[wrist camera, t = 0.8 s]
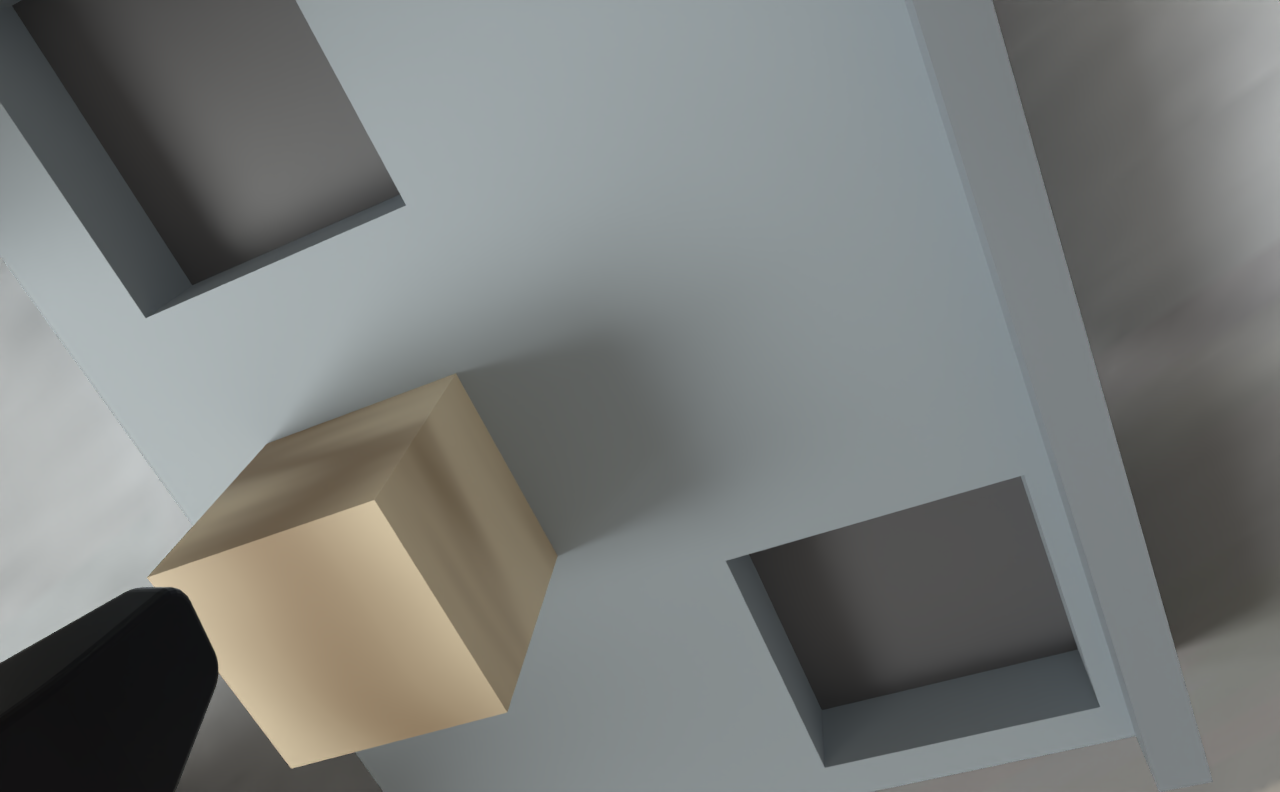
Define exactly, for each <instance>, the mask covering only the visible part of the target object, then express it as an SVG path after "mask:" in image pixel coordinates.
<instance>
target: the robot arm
mask: <svg viewBox="0 0 1280 792" xmlns="http://www.w3.org/2000/svg"><path fill="white" fill-rule="evenodd" d="M217 679H218V660H217V656H216V653H215V651H214V649H213V647H212V644H211V642H210V640H209V638H208V636H207V634H206V632H205V630H204V628H203V626H202V623H201V621H200V619H199V617H198V615H197V613H196V611H195V609H194V607H193V605H192V603H191V601H190V599H189V597H188V596H187V595H186V594H185V593H184V592H182V591H181V590H180V589H177V588H174V587H142V588H135V589H132V590H129V591H127V592H125V593H123V594H121V595H119V596H118V597H116V598H114V599H112V600H111V601H109V602H107V603H105V604H104V605H102V606H100V607H98V608H97V609H95V610H93V611H91V612H89V613H88V614H86V615H84V616H82V617H81V618H79V619H77V620H75V621H74V622H72V623H70V624H68V625H67V626H65V627H63V628H61V629H59V630H58V631H56V632H54V633H52V634H51V635H49V636H47V637H45V638H44V639H42V640H40V641H38V642H37V643H35V644H33V645H31V646H29V647H28V648H26V649H24V650H22V651H21V652H19V653H17V654H15V655H14V656H12V657H10V658H8V659H7V660H5V661H3V662H1V663H0V792H175V791H176V788H177V785H178V783H179V780H180V778H181V775H182V773H183V770H184V767H185V765H186V762H187V760H188V757H189V754H190V752H191V749H192V747H193V744H194V742H195V739H196V736H197V734H198V731H199V729H200V726H201V723H202V721H203V718H204V716H205V713H206V711H207V708H208V705H209V703H210V700H211V698H212V695H213V692H214V690H215V687H216V684H217Z"/></svg>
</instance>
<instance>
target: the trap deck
mask: <svg viewBox="0 0 1280 792" xmlns="http://www.w3.org/2000/svg"><path fill="white" fill-rule="evenodd" d="M0 257H1V258H2V260H3V261H4V263H5V264H6V265H7V267H8V268H9V270H10V271H11V272H12V274H13V275H14V277H15V278H16V279H17V281H18V282H19V284H20V285H21V286H22V288H23V289H24V291H25V292H26V293H27V295H28V296H29V298H30V299H31V300H32V302H33V303H34V305H35V306H36V307H37V309H38V310H39V312H40V313H41V314H42V316H43V317H44V319H45V320H46V321H47V323H48V324H49V326H50V327H51V328H52V330H53V331H54V333H55V334H56V335H57V337H58V338H59V340H60V341H61V342H62V344H63V345H64V347H65V348H66V349H67V351H68V352H69V353H70V355H71V356H72V358H73V359H74V360H75V362H76V363H77V365H78V366H79V367H80V369H81V370H82V372H83V373H84V374H85V376H86V377H87V379H88V380H89V381H90V383H91V384H92V386H93V387H94V388H95V390H96V391H97V393H98V394H99V395H100V397H101V398H102V400H103V401H104V402H105V404H106V405H107V407H108V408H109V409H110V411H111V412H112V414H113V415H114V416H115V418H116V419H117V421H118V422H119V423H120V425H121V426H122V428H123V429H124V430H125V432H126V433H127V435H128V436H129V437H130V439H131V440H132V442H133V443H134V444H135V446H136V447H137V449H138V450H139V451H140V453H141V454H142V456H143V457H144V458H145V460H146V461H147V462H148V464H149V465H150V467H151V468H152V469H153V471H154V472H155V474H156V475H157V476H158V478H159V479H160V481H161V482H162V483H163V485H164V486H165V488H166V489H167V490H168V492H169V493H170V495H171V496H172V497H173V499H174V500H175V502H176V503H177V504H178V506H179V507H180V509H181V510H182V511H183V513H184V514H185V516H186V517H187V518H188V520H189V521H190V523H191V524H192V525H193V526H194V524H195V523H196V522H197V521H198V520H199V519H200V518H201V517H202V516H203V514H204V513H205V512H206V511H207V510H208V509H209V508H210V507H211V505H212V504H213V503H214V502H215V501H216V500H217V499H218V498H219V497H220V495H221V494H222V493H223V492H224V491H225V490H226V489H227V488H228V486H229V485H230V484H231V483H232V482H233V481H234V480H235V479H236V478H237V476H238V475H239V474H240V473H241V472H242V471H243V470H244V469H245V467H246V466H247V465H248V464H249V463H250V462H251V461H252V460H253V459H254V457H255V456H256V455H257V454H258V453H259V452H260V451H261V450H262V448H263V447H264V446H265V445H266V444H267V443H270V442H273V441H275V440H278V439H281V438H283V437H286V436H289V435H291V434H294V433H297V432H300V431H302V430H305V429H308V428H310V427H313V426H316V425H318V424H321V423H324V422H326V421H329V420H332V419H334V418H337V417H340V416H343V415H345V414H348V413H351V412H353V411H356V410H359V409H361V408H364V407H367V406H369V405H372V404H375V403H377V402H380V401H383V400H385V399H388V398H391V397H394V396H396V395H399V394H402V393H404V392H407V391H410V390H412V389H415V388H418V387H420V386H423V385H426V384H428V383H431V382H434V381H436V380H439V379H442V378H445V377H447V376H450V375H453V374H455V373H456V374H457V376H458V378H459V380H460V381H461V383H462V385H463V387H464V389H465V390H466V392H467V394H468V396H469V398H470V399H471V401H472V403H473V405H474V407H475V408H476V410H477V412H478V414H479V416H480V417H481V419H482V421H483V423H484V425H485V426H486V428H487V430H488V432H489V434H490V435H491V437H492V439H493V441H494V443H495V444H496V446H497V448H498V450H499V452H500V453H501V455H502V457H503V459H504V461H505V462H506V464H507V466H508V468H509V469H510V471H511V473H512V475H513V477H514V478H515V480H516V482H517V484H518V486H519V487H520V489H521V491H522V493H523V495H524V496H525V498H526V500H527V502H528V504H529V505H530V507H531V509H532V511H533V513H534V514H535V516H536V518H537V520H538V522H539V523H540V525H541V527H542V529H543V531H544V532H545V534H546V536H547V538H548V540H549V541H550V543H551V545H552V547H553V549H554V550H555V552H556V554H557V556H558V557H557V560H556V563H555V566H554V569H553V572H552V575H551V578H550V582H549V585H548V588H547V591H546V594H545V597H544V600H543V603H542V606H541V609H540V613H539V616H538V619H537V622H536V625H535V628H534V631H533V634H532V637H531V641H530V644H529V647H528V650H527V653H526V656H525V659H524V662H523V665H522V668H521V672H520V675H519V678H518V681H517V684H516V687H515V690H514V693H513V696H512V699H511V703H510V706H509V709H508V712H507V713H504V714H500V715H496V716H492V717H488V718H484V719H480V720H477V721H473V722H469V723H465V724H461V725H457V726H454V727H450V728H446V729H442V730H438V731H434V732H431V733H427V734H423V735H419V736H415V737H411V738H407V739H404V740H400V741H396V742H392V743H388V744H384V745H381V746H377V747H373V748H369V749H365V750H361V751H357V752H355V753H356V755H357V756H358V757H359V759H360V760H361V762H362V763H363V764H364V766H365V767H366V769H367V770H368V771H369V773H370V774H371V776H372V777H373V778H374V780H375V781H376V783H377V784H378V785H379V787H380V788H381V789H382V791H383V792H873V791H878V790H883V789H887V788H892V787H897V786H902V785H906V784H911V783H916V782H921V781H925V780H930V779H935V778H940V777H944V776H949V775H954V774H958V773H963V772H968V771H973V770H977V769H982V768H987V767H992V766H996V765H1001V764H1006V763H1011V762H1015V761H1020V760H1025V759H1029V758H1034V757H1039V756H1044V755H1048V754H1053V753H1058V752H1063V751H1067V750H1072V749H1077V748H1082V747H1086V746H1091V745H1096V744H1101V743H1105V742H1110V741H1115V740H1119V739H1124V738H1129V737H1134V736H1136V737H1137V740H1138V742H1139V745H1140V747H1141V749H1142V752H1143V754H1144V757H1145V759H1146V762H1147V764H1148V766H1149V769H1150V771H1151V774H1152V776H1153V778H1154V781H1155V783H1156V786H1157V788H1158V790H1159V792H1163V791H1168V790H1173V789H1178V788H1184V787H1189V786H1194V785H1199V784H1204V783H1209V782H1213V780H1212V777H1211V773H1210V770H1209V766H1208V763H1207V759H1206V755H1205V752H1204V748H1203V745H1202V741H1201V738H1200V734H1199V731H1198V727H1197V724H1196V720H1195V716H1194V713H1193V709H1192V706H1191V702H1190V699H1189V695H1188V692H1187V688H1186V685H1185V681H1184V677H1183V674H1182V670H1181V667H1180V663H1179V660H1178V656H1177V653H1176V649H1175V646H1174V642H1173V639H1172V635H1171V631H1170V628H1169V624H1168V621H1167V617H1166V614H1165V610H1164V607H1163V603H1162V600H1161V596H1160V592H1159V589H1158V585H1157V582H1156V578H1155V575H1154V571H1153V568H1152V564H1151V561H1150V557H1149V553H1148V550H1147V546H1146V543H1145V539H1144V536H1143V532H1142V529H1141V525H1140V522H1139V518H1138V514H1137V511H1136V507H1135V504H1134V500H1133V497H1132V493H1131V490H1130V486H1129V483H1128V479H1127V475H1126V472H1125V468H1124V465H1123V461H1122V458H1121V454H1120V451H1119V447H1118V444H1117V440H1116V437H1115V433H1114V429H1113V426H1112V422H1111V419H1110V415H1109V412H1108V408H1107V405H1106V401H1105V398H1104V394H1103V390H1102V387H1101V383H1100V380H1099V376H1098V373H1097V369H1096V366H1095V362H1094V359H1093V355H1092V351H1091V348H1090V344H1089V341H1088V337H1087V334H1086V330H1085V327H1084V323H1083V320H1082V316H1081V312H1080V309H1079V305H1078V302H1077V298H1076V295H1075V291H1074V288H1073V284H1072V281H1071V277H1070V274H1069V270H1068V266H1067V263H1066V259H1065V256H1064V252H1063V249H1062V245H1061V242H1060V238H1059V235H1058V231H1057V227H1056V224H1055V220H1054V217H1053V213H1052V210H1051V206H1050V203H1049V199H1048V196H1047V192H1046V188H1045V185H1044V181H1043V178H1042V174H1041V171H1040V167H1039V164H1038V160H1037V157H1036V153H1035V149H1034V146H1033V142H1032V139H1031V135H1030V132H1029V128H1028V125H1027V121H1026V118H1025V114H1024V110H1023V107H1022V103H1021V100H1020V96H1019V93H1018V89H1017V86H1016V82H1015V79H1014V75H1013V72H1012V68H1011V64H1010V61H1009V57H1008V54H1007V50H1006V47H1005V43H1004V40H1003V36H1002V33H1001V29H1000V25H999V22H998V18H997V15H996V11H995V8H994V4H993V1H992V0H0Z"/></svg>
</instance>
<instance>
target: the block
mask: <svg viewBox="0 0 1280 792" xmlns="http://www.w3.org/2000/svg"><path fill="white" fill-rule="evenodd" d="M557 557H558V556H557V554H556V552H555V550H554V549H553V547H552V545H551V543H550V541H549V540H548V538H547V536H546V534H545V532H544V531H543V529H542V527H541V525H540V523H539V522H538V520H537V518H536V516H535V514H534V513H533V511H532V509H531V507H530V505H529V504H528V502H527V500H526V498H525V496H524V495H523V493H522V491H521V489H520V487H519V486H518V484H517V482H516V480H515V478H514V477H513V475H512V473H511V471H510V469H509V468H508V466H507V464H506V462H505V461H504V459H503V457H502V455H501V453H500V452H499V450H498V448H497V446H496V444H495V443H494V441H493V439H492V437H491V435H490V434H489V432H488V430H487V428H486V426H485V425H484V423H483V421H482V419H481V417H480V416H479V414H478V412H477V410H476V408H475V407H474V405H473V403H472V401H471V399H470V398H469V396H468V394H467V392H466V390H465V389H464V387H463V385H462V383H461V381H460V380H459V378H458V376H457V374H456V373H455V374H453V375H450V376H447V377H445V378H442V379H439V380H436V381H434V382H431V383H428V384H426V385H423V386H420V387H418V388H415V389H412V390H410V391H407V392H404V393H402V394H399V395H396V396H394V397H391V398H388V399H385V400H383V401H380V402H377V403H375V404H372V405H369V406H367V407H364V408H361V409H359V410H356V411H353V412H351V413H348V414H345V415H343V416H340V417H337V418H334V419H332V420H329V421H326V422H324V423H321V424H318V425H316V426H313V427H310V428H308V429H305V430H302V431H300V432H297V433H294V434H291V435H289V436H286V437H283V438H281V439H278V440H275V441H273V442H270V443H267V444H266V445H265V446H264V447H263V448H262V450H261V451H260V452H259V453H258V454H257V455H256V456H255V457H254V459H253V460H252V461H251V462H250V463H249V464H248V465H247V466H246V467H245V469H244V470H243V471H242V472H241V473H240V474H239V475H238V476H237V478H236V479H235V480H234V481H233V482H232V483H231V484H230V485H229V486H228V488H227V489H226V490H225V491H224V492H223V493H222V494H221V495H220V497H219V498H218V499H217V500H216V501H215V502H214V503H213V504H212V505H211V507H210V508H209V509H208V510H207V511H206V512H205V513H204V514H203V516H202V517H201V518H200V519H199V520H198V521H197V522H196V523H195V524H194V526H193V527H192V528H191V529H190V530H189V531H188V532H187V533H186V535H185V536H184V537H183V538H182V539H181V540H180V541H179V542H178V544H177V545H176V546H175V547H174V548H173V549H172V550H171V551H170V552H169V554H168V555H167V556H166V557H165V558H164V559H163V560H162V561H161V563H160V564H159V565H158V566H157V567H156V568H155V569H154V570H153V571H152V573H151V574H150V575H149V576H148V577H147V578H148V580H149V581H150V582H151V583H152V585H153V586H154V587H174V588H177V589H180V590H181V591H182V592H184V593H185V594H186V595H187V596H188V597H189V599H190V601H191V603H192V605H193V607H194V609H195V611H196V613H197V615H198V617H199V619H200V621H201V623H202V626H203V628H204V630H205V632H206V634H207V636H208V638H209V640H210V642H211V644H212V647H213V649H214V651H215V653H216V656H217V660H218V672H219V674H220V675H221V676H222V678H223V679H224V680H225V682H226V683H227V684H228V686H229V687H230V688H231V690H232V691H233V692H234V694H235V695H236V696H237V697H238V699H239V700H240V701H241V703H242V704H243V705H244V707H245V708H246V709H247V711H248V712H249V713H250V715H251V716H252V717H253V719H254V720H255V721H256V723H257V724H258V725H259V727H260V728H261V729H262V731H263V732H264V733H265V735H266V736H267V737H268V739H269V740H270V741H271V743H272V744H273V745H274V747H275V748H276V749H277V751H278V752H279V753H280V754H281V756H282V757H283V758H284V760H285V761H286V762H287V764H288V765H289V766H290V768H291V769H292V768H296V767H300V766H304V765H307V764H311V763H315V762H319V761H323V760H327V759H331V758H334V757H338V756H342V755H346V754H350V753H354V752H357V751H361V750H365V749H369V748H373V747H377V746H381V745H384V744H388V743H392V742H396V741H400V740H404V739H407V738H411V737H415V736H419V735H423V734H427V733H431V732H434V731H438V730H442V729H446V728H450V727H454V726H457V725H461V724H465V723H469V722H473V721H477V720H480V719H484V718H488V717H492V716H496V715H500V714H504V713H507V712H508V709H509V706H510V703H511V699H512V696H513V693H514V690H515V687H516V684H517V681H518V678H519V675H520V672H521V668H522V665H523V662H524V659H525V656H526V653H527V650H528V647H529V644H530V641H531V637H532V634H533V631H534V628H535V625H536V622H537V619H538V616H539V613H540V609H541V606H542V603H543V600H544V597H545V594H546V591H547V588H548V585H549V582H550V578H551V575H552V572H553V569H554V566H555V563H556V560H557Z"/></svg>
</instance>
